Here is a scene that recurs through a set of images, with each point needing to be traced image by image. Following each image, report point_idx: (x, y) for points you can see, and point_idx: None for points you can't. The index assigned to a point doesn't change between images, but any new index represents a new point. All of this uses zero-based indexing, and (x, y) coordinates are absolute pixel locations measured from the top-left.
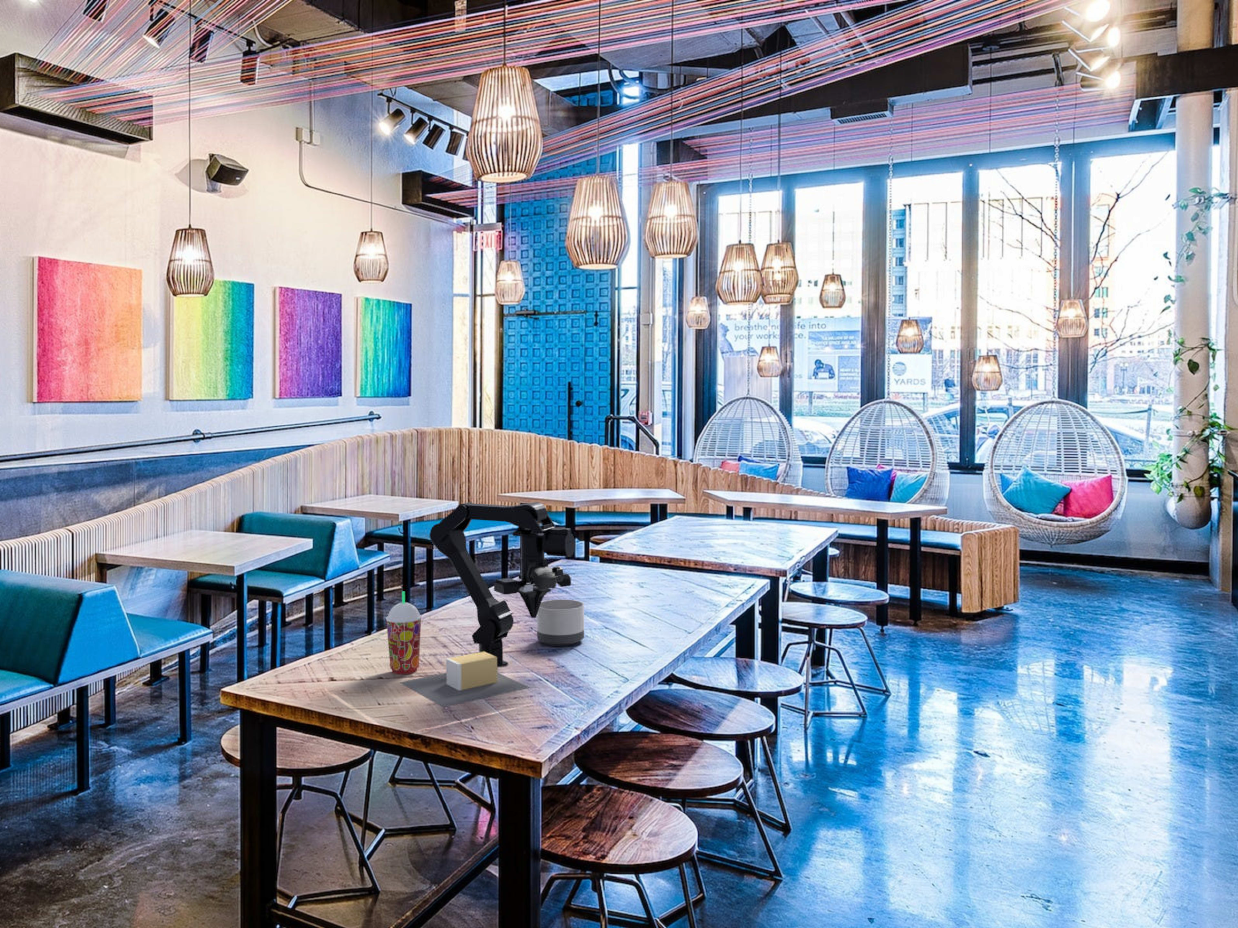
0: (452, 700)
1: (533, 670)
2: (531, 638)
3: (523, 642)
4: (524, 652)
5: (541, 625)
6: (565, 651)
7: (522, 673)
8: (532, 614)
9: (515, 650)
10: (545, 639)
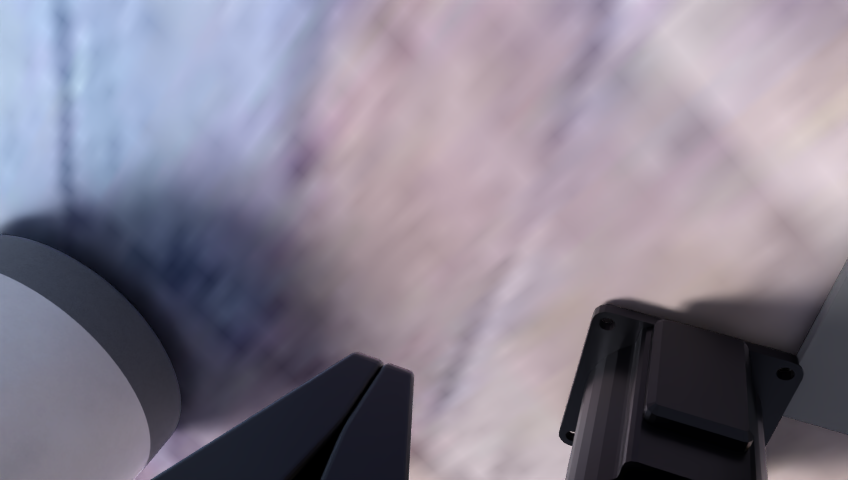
0: None
1: (572, 59)
2: None
3: None
4: None
5: (114, 461)
6: (133, 203)
7: (705, 68)
8: (411, 418)
9: None
10: (160, 373)
